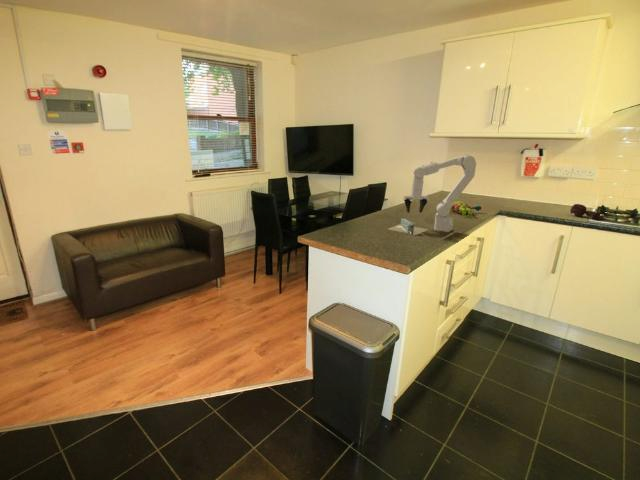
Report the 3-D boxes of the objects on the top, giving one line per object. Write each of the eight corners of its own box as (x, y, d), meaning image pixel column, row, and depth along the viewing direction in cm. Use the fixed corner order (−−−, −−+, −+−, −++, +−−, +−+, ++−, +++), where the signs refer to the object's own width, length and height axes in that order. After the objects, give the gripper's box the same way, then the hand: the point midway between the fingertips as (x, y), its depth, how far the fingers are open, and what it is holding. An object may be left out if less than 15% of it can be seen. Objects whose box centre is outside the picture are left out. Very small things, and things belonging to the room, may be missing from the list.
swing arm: (416, 232, 184) (417, 224, 183) (409, 232, 184) (410, 224, 183) (405, 224, 200) (406, 217, 199) (399, 225, 200) (400, 217, 198)
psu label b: (414, 230, 190) (414, 230, 190) (410, 231, 188) (410, 231, 188) (404, 228, 194) (404, 228, 194) (401, 229, 191) (401, 229, 191)
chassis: (428, 231, 193) (428, 222, 191) (416, 236, 182) (416, 227, 181) (399, 225, 204) (400, 217, 203) (387, 230, 194) (387, 222, 192)
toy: (454, 208, 257) (455, 198, 255) (488, 215, 234) (490, 204, 232) (433, 210, 245) (434, 200, 243) (466, 218, 222) (468, 206, 220)
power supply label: (408, 227, 196) (408, 227, 196) (405, 229, 193) (405, 228, 193) (399, 226, 200) (399, 225, 200) (396, 227, 197) (396, 227, 197)
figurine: (600, 222, 223) (571, 212, 236) (607, 211, 220) (576, 201, 233) (595, 224, 217) (565, 213, 230) (602, 212, 214) (571, 202, 227)
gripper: (426, 187, 195) (423, 210, 199) (402, 187, 193) (399, 210, 197) (431, 189, 188) (428, 213, 192) (407, 189, 186) (404, 213, 190)
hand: (414, 212), depth 194 cm, fingers open, 7 cm apart
